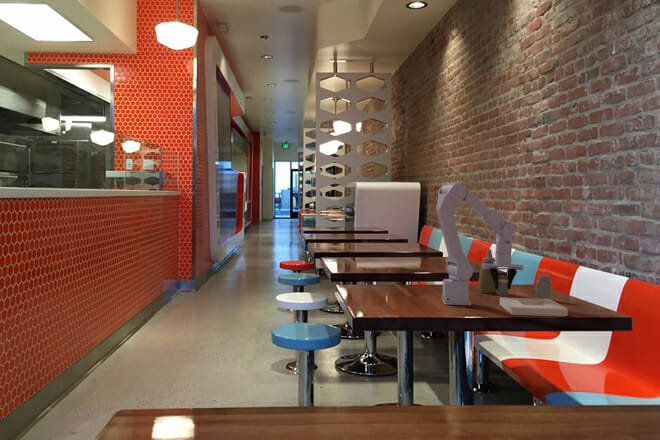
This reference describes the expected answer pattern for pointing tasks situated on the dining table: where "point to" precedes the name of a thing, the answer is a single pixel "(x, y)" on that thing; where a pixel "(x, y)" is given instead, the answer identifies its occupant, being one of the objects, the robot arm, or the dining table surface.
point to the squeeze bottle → (487, 275)
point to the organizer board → (533, 307)
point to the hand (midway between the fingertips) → (502, 288)
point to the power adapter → (543, 287)
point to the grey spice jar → (502, 285)
